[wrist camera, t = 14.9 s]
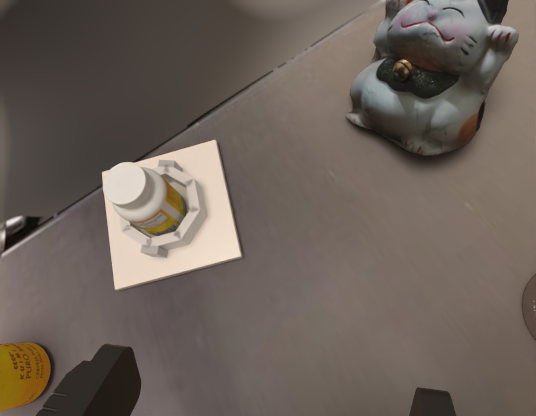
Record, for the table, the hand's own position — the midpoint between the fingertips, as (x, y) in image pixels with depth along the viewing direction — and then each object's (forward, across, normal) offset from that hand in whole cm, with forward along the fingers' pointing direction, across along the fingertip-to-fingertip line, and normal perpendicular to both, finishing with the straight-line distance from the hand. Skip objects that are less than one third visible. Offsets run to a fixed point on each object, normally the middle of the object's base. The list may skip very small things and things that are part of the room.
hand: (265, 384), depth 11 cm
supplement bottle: (+28, +17, +12) cm, 34 cm away
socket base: (+29, +16, +12) cm, 35 cm away
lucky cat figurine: (+40, -9, +1) cm, 41 cm away
